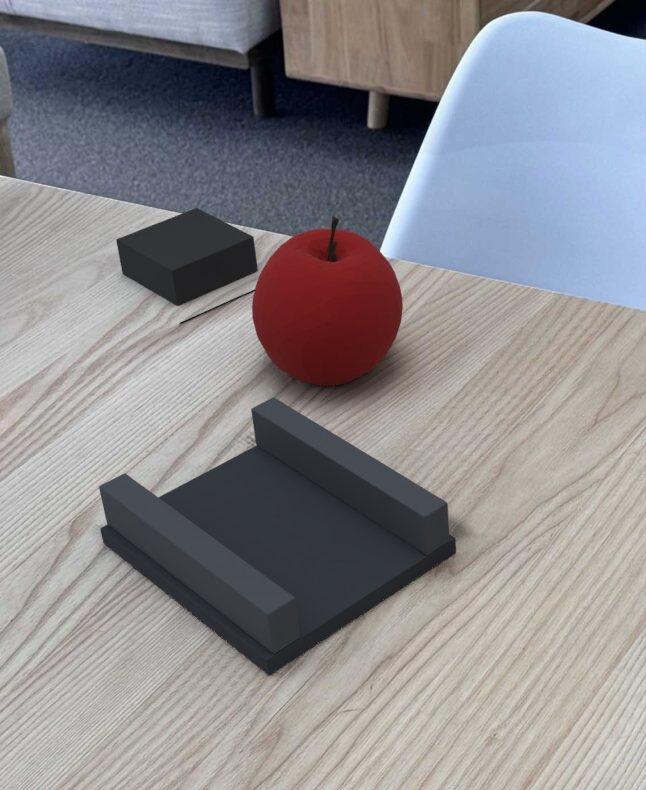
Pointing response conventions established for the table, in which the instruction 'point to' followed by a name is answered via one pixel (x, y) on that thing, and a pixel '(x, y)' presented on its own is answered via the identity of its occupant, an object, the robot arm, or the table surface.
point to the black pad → (187, 257)
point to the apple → (327, 306)
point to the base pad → (281, 537)
